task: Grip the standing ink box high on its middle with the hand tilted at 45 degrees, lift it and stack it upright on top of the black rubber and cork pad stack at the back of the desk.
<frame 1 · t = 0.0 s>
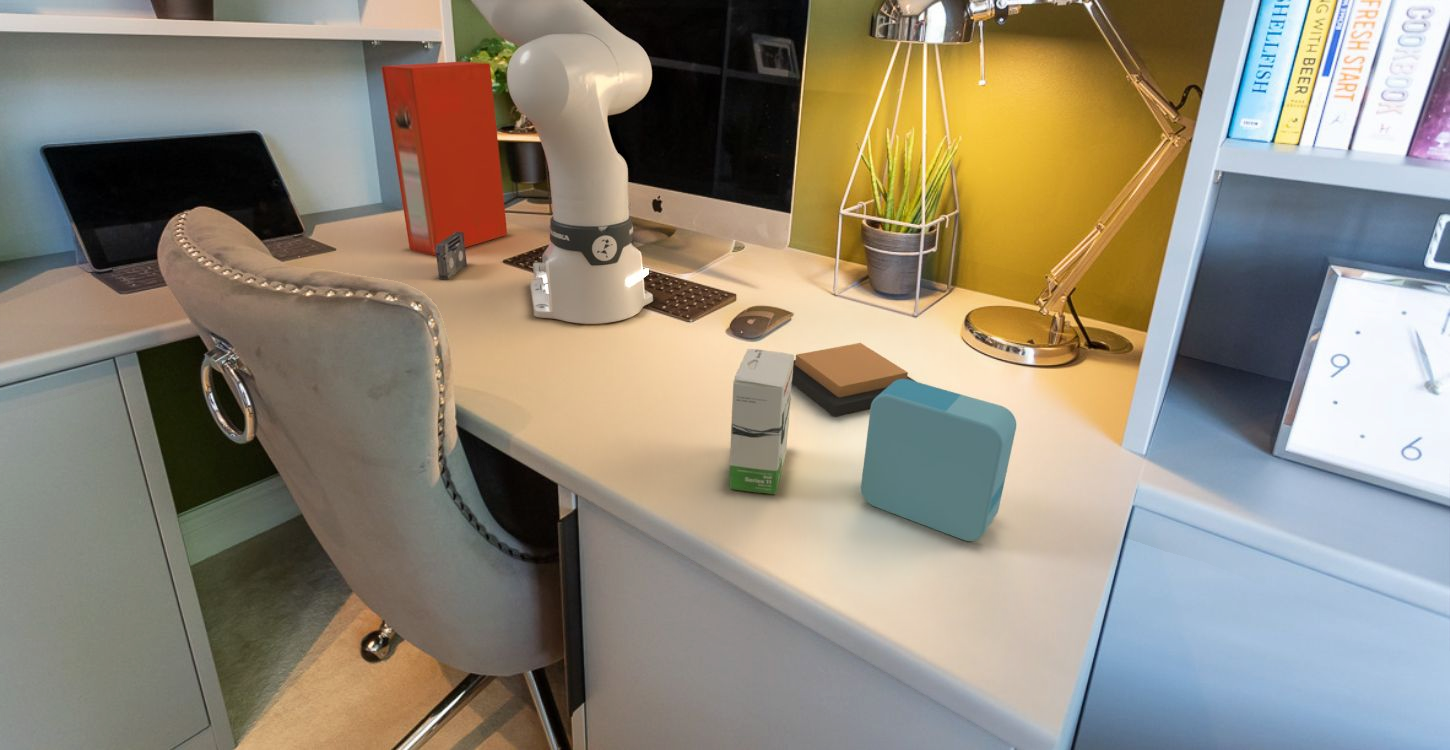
file binder: (459, 243, 151), on the table
pad stack: (848, 384, 99), on the table
mini dv tape: (453, 273, 135), on the table
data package: (925, 514, 74), on the table
ink box: (758, 471, 80), on the table
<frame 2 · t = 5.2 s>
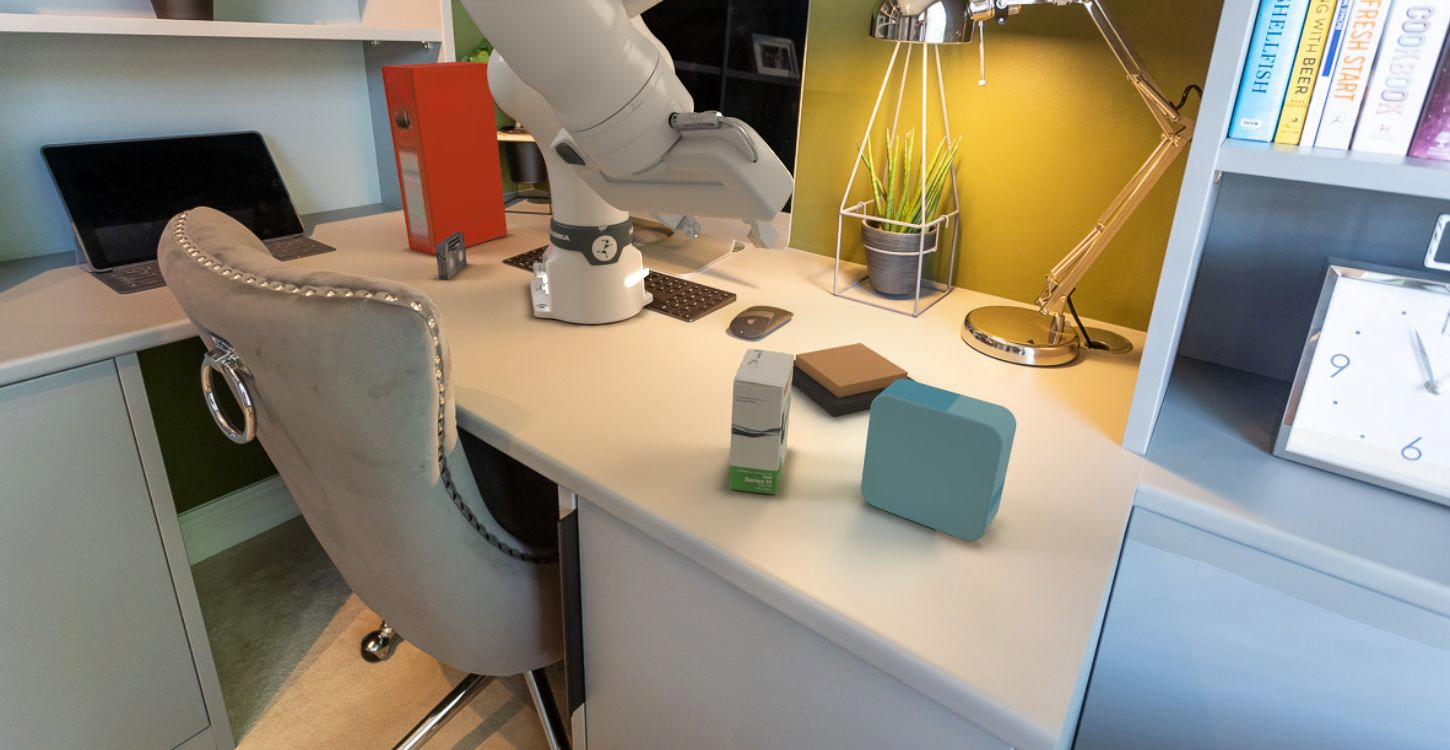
hand: (728, 238, 68), 25 cm above the table, tool tilted 40°, fingers open, 8 cm apart
nothing on the table moved.
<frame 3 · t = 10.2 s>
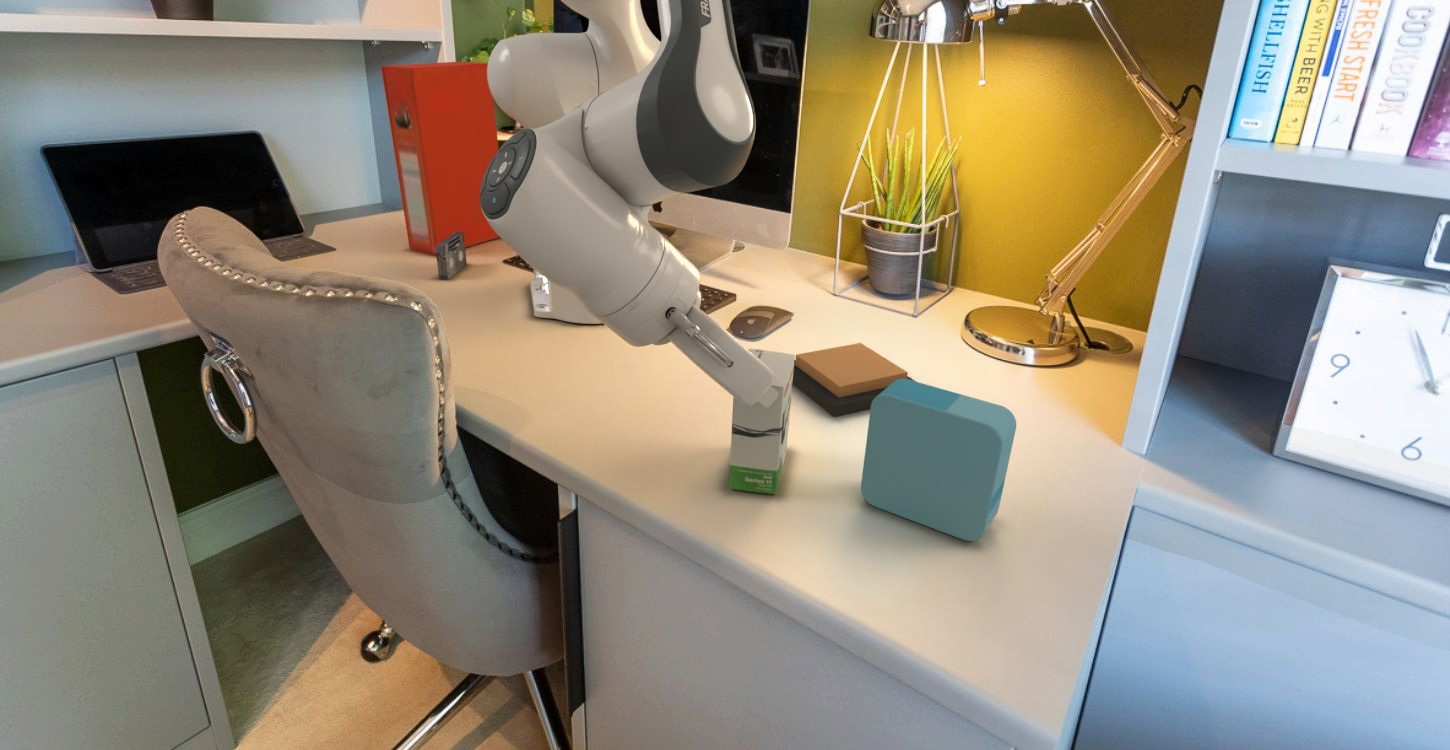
hand: (745, 377, 75), 11 cm above the table, tool tilted 45°, fingers open, 8 cm apart
ink box: (758, 471, 80), on the table, touching gripper
everything else where it was.
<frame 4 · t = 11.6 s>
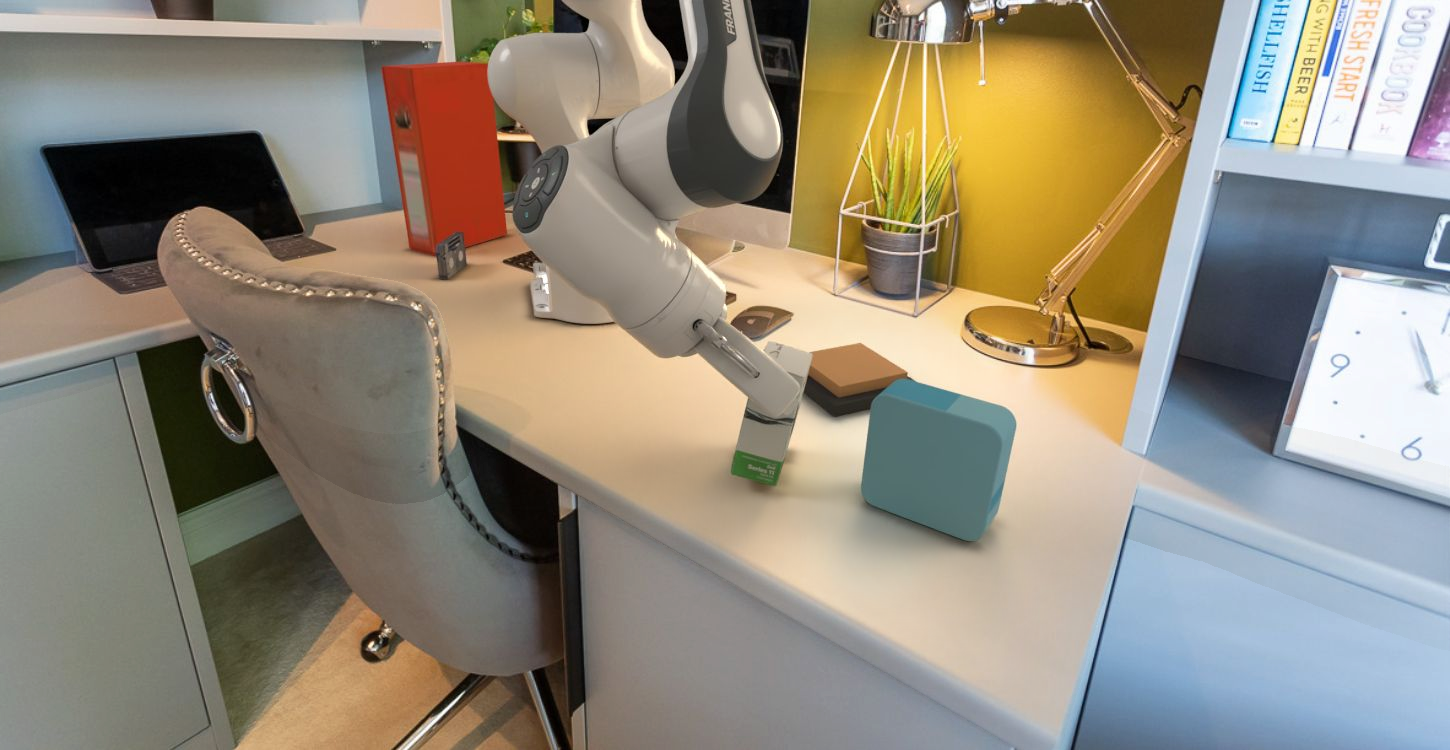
hand: (770, 389, 75), 10 cm above the table, tool tilted 45°, fingers closed on ink box, 6 cm apart
ink box: (759, 465, 80), point 1 cm above the table, touching gripper
everything else where it was.
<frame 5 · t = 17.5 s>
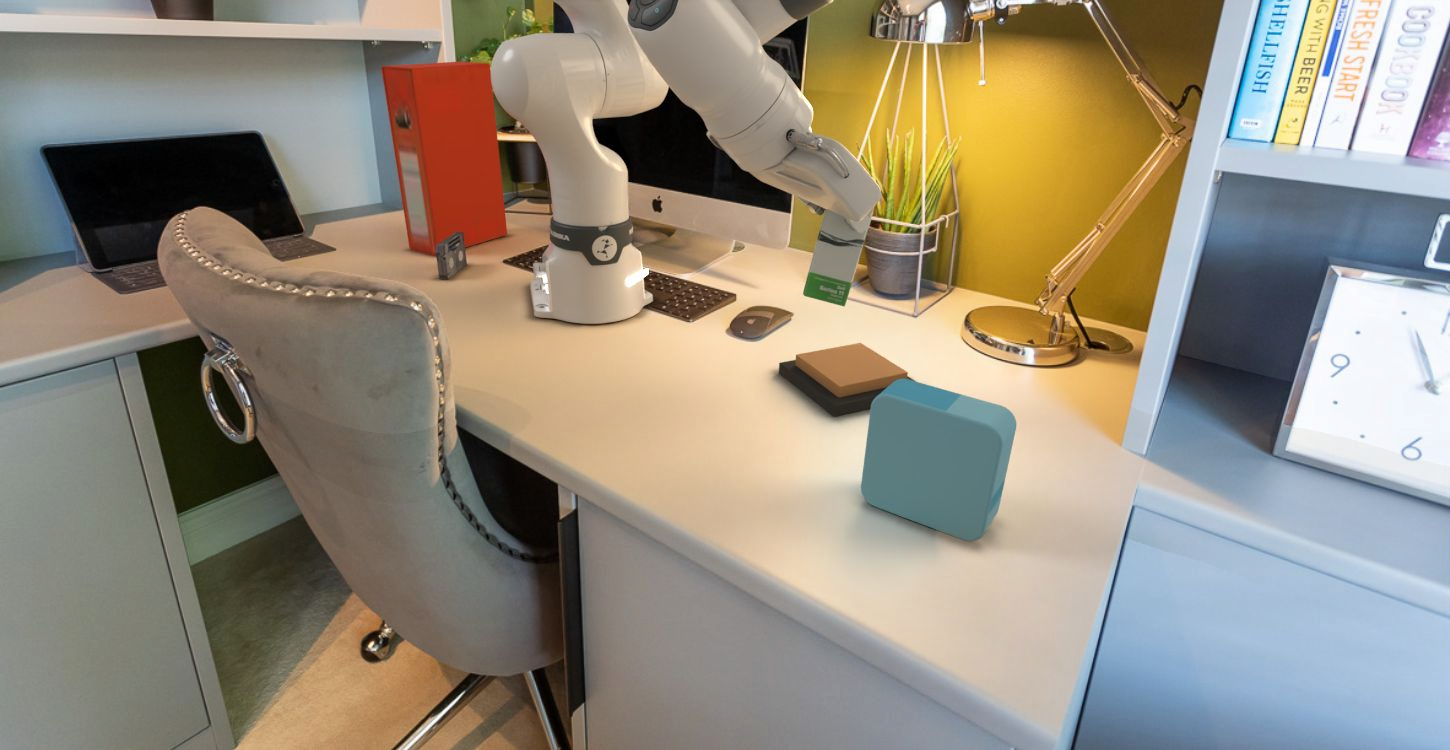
hand: (841, 217, 83), 23 cm above the table, tool tilted 45°, fingers closed on ink box, 6 cm apart
ink box: (826, 294, 88), point 14 cm above the table, touching gripper
everything else where it was.
when the fingers open (13 cm above the table, at t = 23.4 s): ink box stays where it is, resting on pad stack.
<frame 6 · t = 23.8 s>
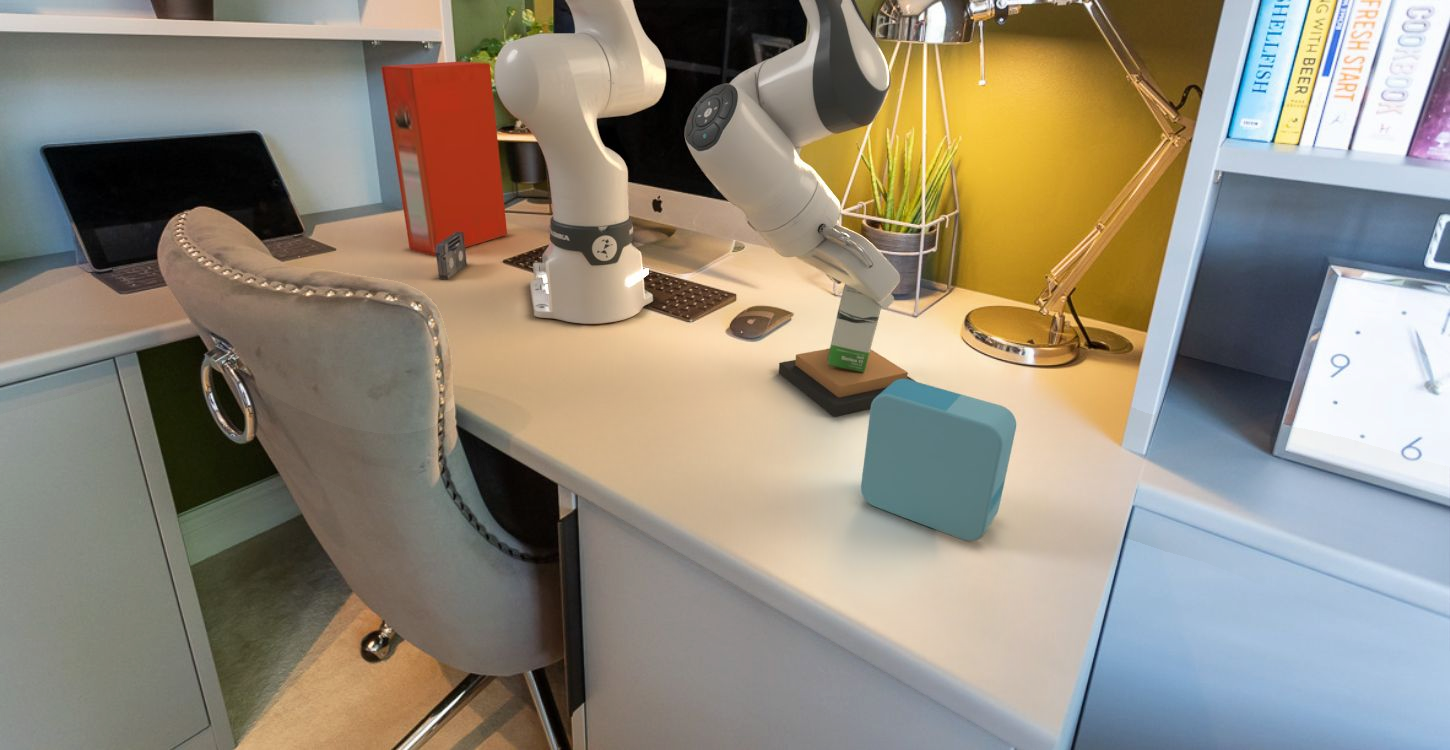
hand: (862, 290, 94), 13 cm above the table, tool tilted 45°, fingers open, 8 cm apart
ink box: (848, 357, 99), point 3 cm above the table, touching gripper, pad stack
everything else where it was.
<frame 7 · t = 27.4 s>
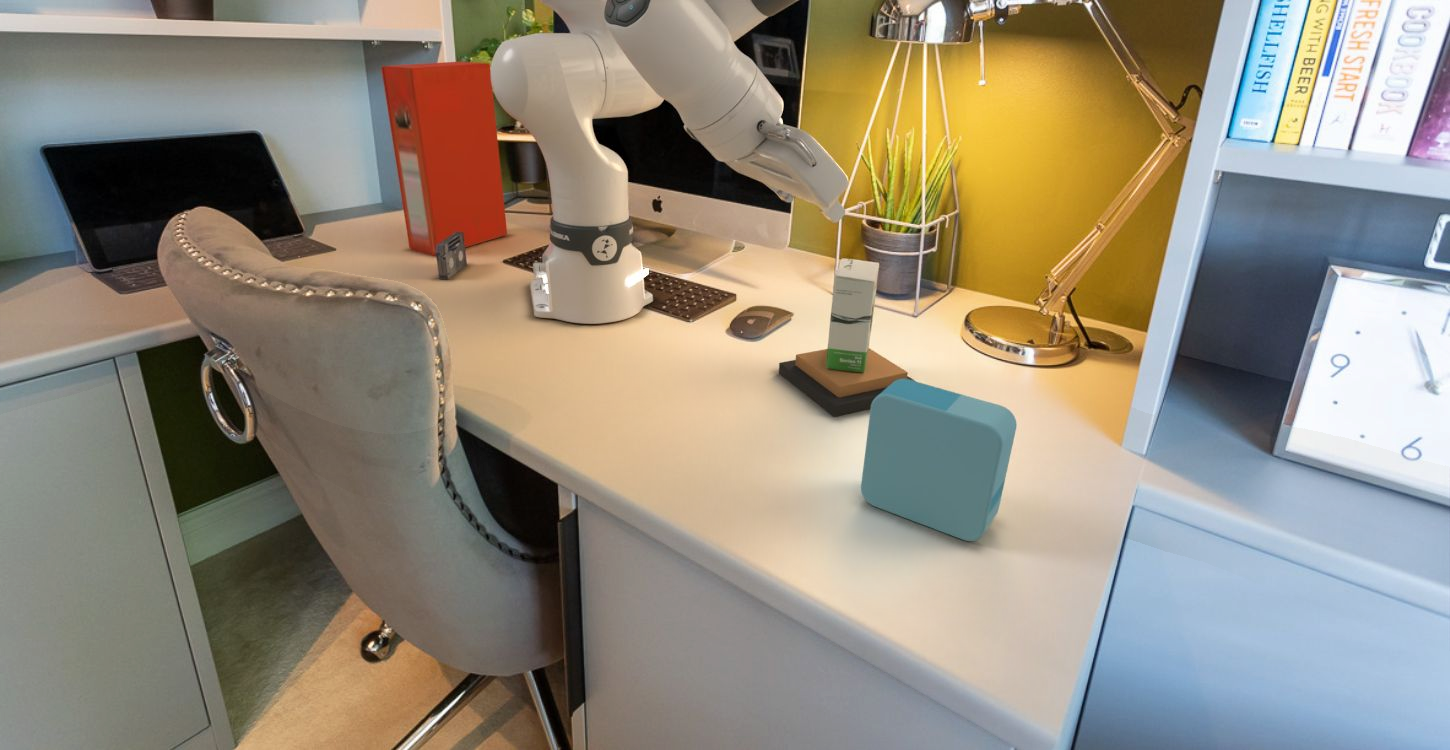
hand: (813, 206, 86), 23 cm above the table, tool tilted 45°, fingers open, 8 cm apart
ink box: (847, 359, 99), point 3 cm above the table, touching pad stack
everything else where it was.
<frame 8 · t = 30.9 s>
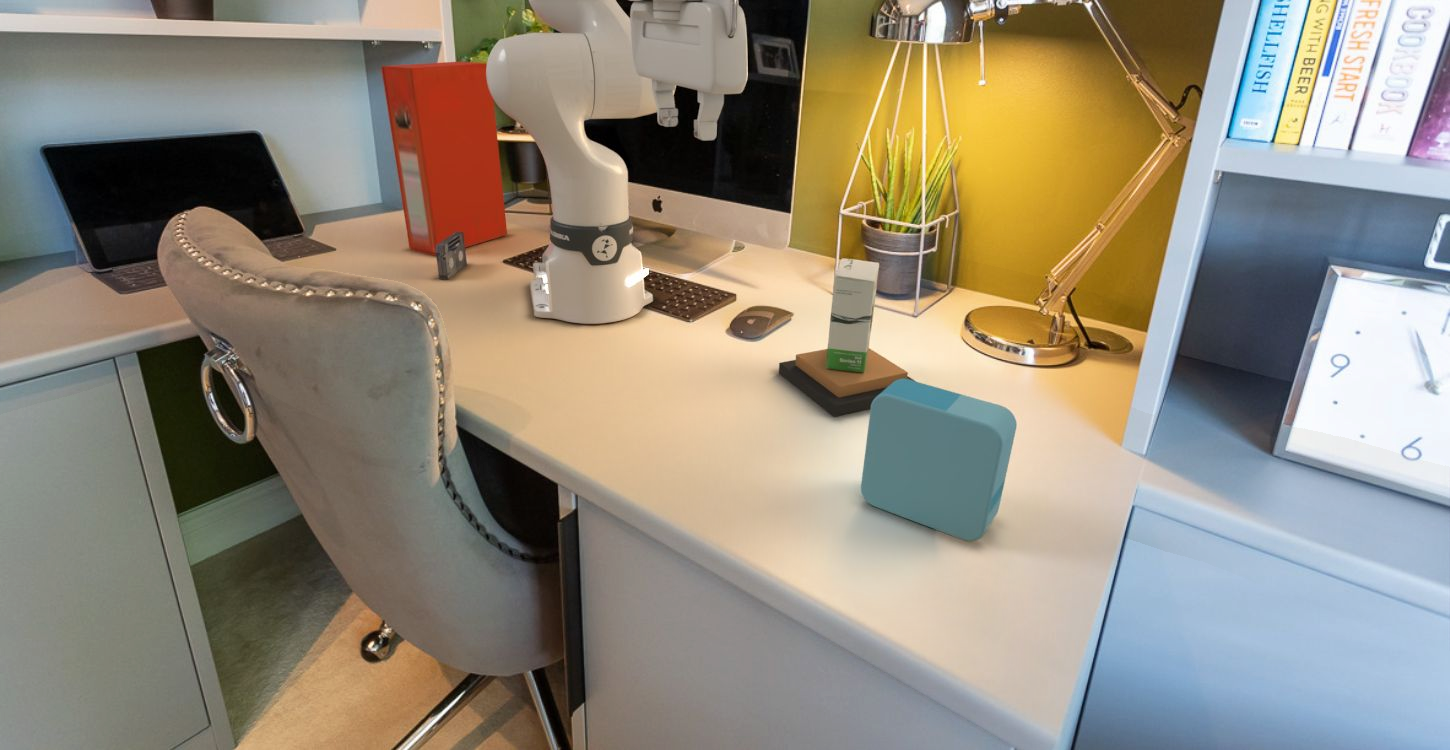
hand: (685, 132, 80), 31 cm above the table, tool pointing down, fingers open, 8 cm apart
nothing on the table moved.
at the end: ink box inside the target area on the pad stack (1.5 cm from its centre), point 2.8 cm above the pad stack's base; ink box tilted 0°; the gripper is holding nothing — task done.
